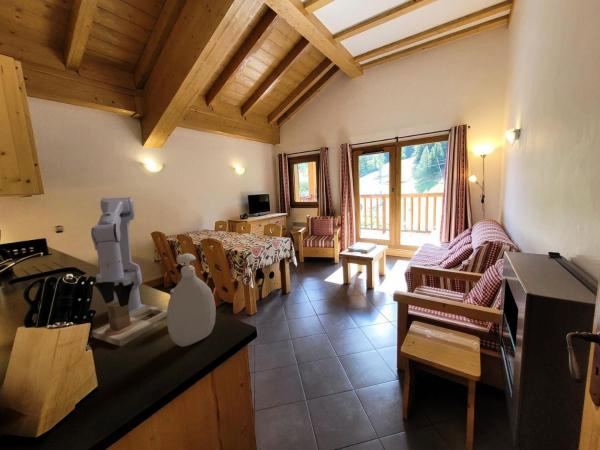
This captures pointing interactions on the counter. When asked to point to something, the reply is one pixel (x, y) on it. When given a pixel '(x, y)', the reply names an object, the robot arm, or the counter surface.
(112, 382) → the counter surface
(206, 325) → the soap bottle
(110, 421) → the counter surface
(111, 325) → the walnut block
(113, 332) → the holder board
